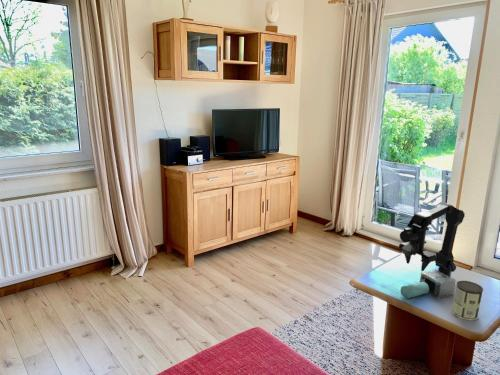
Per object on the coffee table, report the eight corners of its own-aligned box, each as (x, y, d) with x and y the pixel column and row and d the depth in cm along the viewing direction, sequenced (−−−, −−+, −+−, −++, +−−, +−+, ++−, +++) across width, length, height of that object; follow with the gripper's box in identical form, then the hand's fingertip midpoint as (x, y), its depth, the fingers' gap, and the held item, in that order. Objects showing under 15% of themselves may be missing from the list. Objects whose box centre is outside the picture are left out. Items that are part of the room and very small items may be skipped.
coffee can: (464, 306, 173) (469, 279, 170) (483, 318, 164) (488, 290, 160) (446, 309, 170) (451, 281, 167) (464, 322, 161) (470, 293, 157)
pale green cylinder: (418, 290, 186) (420, 279, 185) (428, 296, 181) (430, 285, 179) (399, 294, 181) (401, 283, 180) (409, 300, 176) (410, 289, 175)
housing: (433, 283, 194) (435, 269, 192) (453, 294, 183) (455, 280, 181) (418, 286, 190) (420, 272, 188) (437, 298, 179) (440, 283, 177)
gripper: (392, 234, 188) (389, 262, 192) (422, 248, 171) (418, 278, 175) (408, 231, 192) (405, 258, 196) (439, 244, 175) (434, 274, 179)
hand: (414, 267), depth 186 cm, fingers open, 9 cm apart
